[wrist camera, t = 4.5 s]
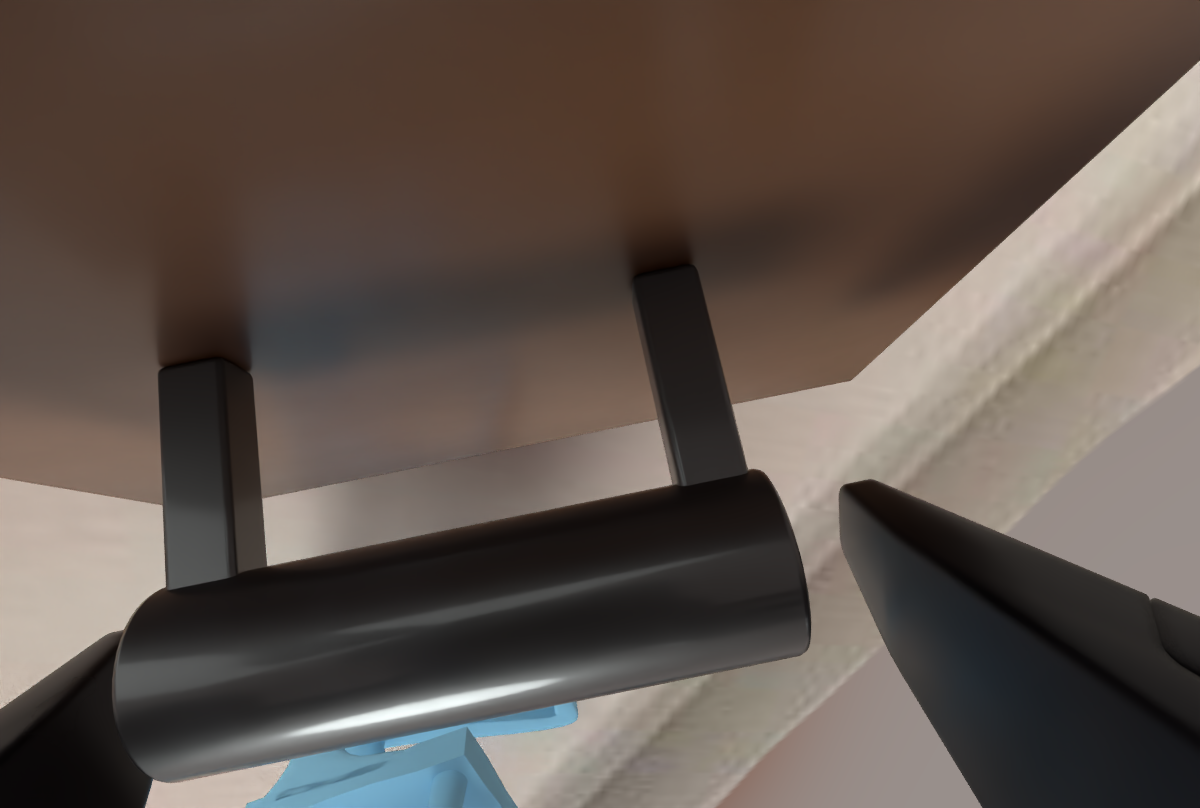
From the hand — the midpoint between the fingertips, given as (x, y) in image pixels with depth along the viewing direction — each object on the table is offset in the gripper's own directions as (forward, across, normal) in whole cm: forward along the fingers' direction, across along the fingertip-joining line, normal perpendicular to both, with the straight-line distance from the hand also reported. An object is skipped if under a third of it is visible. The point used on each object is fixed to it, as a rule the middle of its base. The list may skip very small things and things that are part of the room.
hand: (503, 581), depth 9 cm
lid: (0, 0, -5) cm, 5 cm away
